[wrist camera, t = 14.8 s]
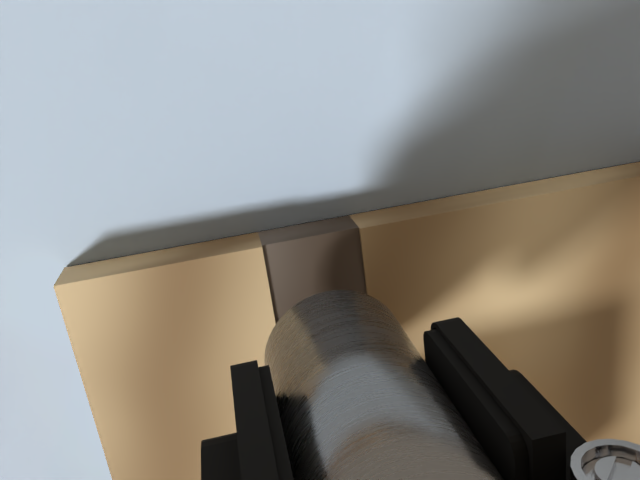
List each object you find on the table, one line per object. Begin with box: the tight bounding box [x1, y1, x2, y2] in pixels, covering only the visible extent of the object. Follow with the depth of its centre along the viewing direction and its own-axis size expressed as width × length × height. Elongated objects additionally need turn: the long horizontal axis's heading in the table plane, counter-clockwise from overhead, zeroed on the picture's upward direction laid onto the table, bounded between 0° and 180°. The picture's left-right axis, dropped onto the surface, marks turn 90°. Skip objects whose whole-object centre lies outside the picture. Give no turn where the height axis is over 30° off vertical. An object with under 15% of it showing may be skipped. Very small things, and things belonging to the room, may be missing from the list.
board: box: [54, 162, 640, 480], centre depth 17 cm, size 22×9×1 cm, turn 98°
